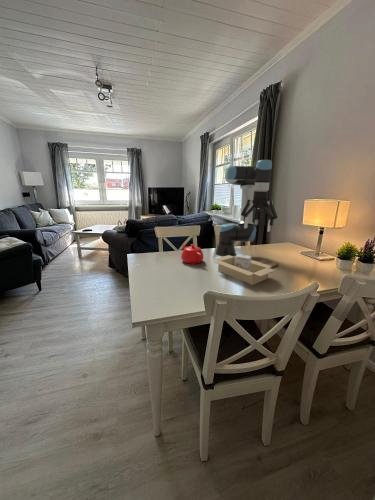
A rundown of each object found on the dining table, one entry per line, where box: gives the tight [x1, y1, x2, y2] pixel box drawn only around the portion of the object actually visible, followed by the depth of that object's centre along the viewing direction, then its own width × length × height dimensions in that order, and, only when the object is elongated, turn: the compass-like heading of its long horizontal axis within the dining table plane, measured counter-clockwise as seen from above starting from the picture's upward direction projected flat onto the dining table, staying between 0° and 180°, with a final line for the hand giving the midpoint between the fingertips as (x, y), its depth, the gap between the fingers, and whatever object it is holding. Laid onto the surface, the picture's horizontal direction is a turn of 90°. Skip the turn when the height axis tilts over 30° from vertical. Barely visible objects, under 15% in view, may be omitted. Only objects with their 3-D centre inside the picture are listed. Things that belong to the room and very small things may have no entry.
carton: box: [213, 255, 275, 286], centre depth 126 cm, size 33×22×7 cm, turn 39°
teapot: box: [180, 243, 204, 265], centre depth 146 cm, size 25×16×12 cm, turn 31°
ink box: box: [234, 253, 252, 272], centre depth 125 cm, size 9×5×12 cm, turn 62°
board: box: [253, 258, 279, 269], centre depth 144 cm, size 14×14×1 cm
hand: (256, 229), depth 121 cm, fingers open, 13 cm apart
